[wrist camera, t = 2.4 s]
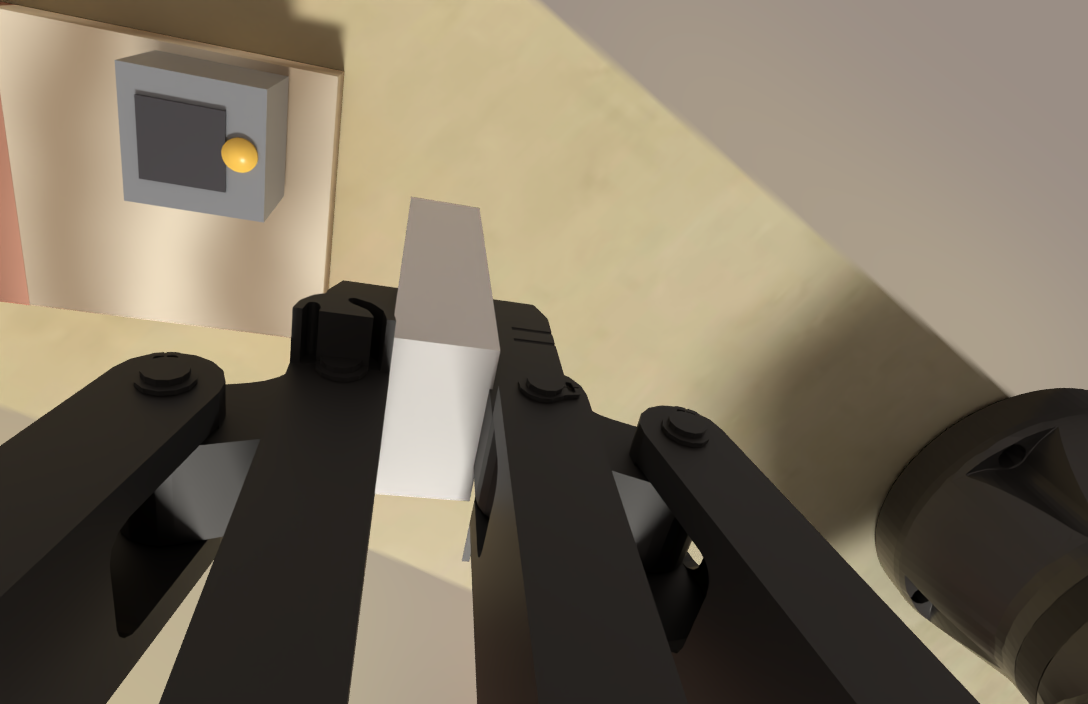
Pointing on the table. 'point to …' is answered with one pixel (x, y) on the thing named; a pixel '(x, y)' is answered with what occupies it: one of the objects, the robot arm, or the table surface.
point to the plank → (141, 229)
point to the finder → (201, 135)
